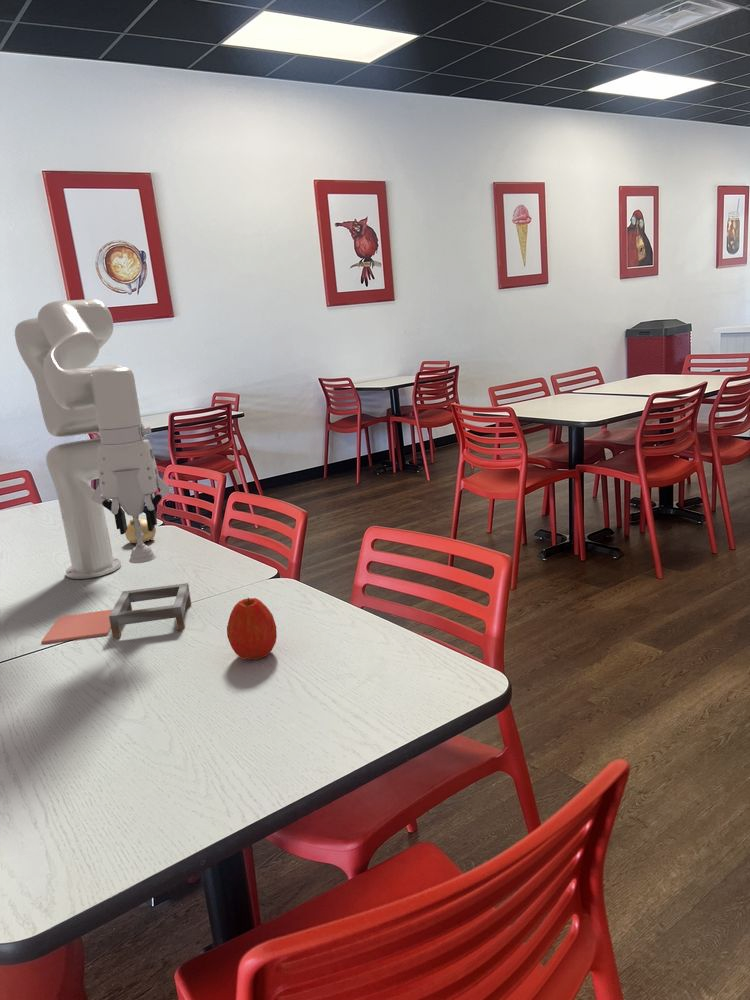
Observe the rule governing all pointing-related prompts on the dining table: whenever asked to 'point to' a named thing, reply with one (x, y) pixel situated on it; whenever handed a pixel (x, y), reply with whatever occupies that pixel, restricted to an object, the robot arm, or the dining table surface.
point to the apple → (251, 629)
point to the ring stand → (126, 615)
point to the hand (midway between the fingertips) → (137, 529)
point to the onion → (144, 529)
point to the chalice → (133, 511)
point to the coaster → (79, 626)
